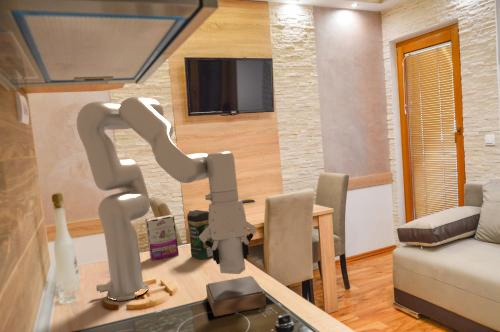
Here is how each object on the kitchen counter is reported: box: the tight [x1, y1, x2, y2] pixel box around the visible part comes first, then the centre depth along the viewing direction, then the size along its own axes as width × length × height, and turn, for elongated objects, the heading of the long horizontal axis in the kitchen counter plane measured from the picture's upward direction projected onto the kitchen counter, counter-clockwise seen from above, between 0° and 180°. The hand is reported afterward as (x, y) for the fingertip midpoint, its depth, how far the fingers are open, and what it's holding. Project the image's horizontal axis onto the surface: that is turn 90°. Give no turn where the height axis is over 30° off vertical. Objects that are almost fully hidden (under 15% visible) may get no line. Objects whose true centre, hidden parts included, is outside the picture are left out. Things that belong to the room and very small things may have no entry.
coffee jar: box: [187, 209, 213, 260], centre depth 157 cm, size 10×8×19 cm
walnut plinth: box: [205, 275, 267, 318], centre depth 110 cm, size 14×14×4 cm
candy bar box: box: [144, 214, 179, 262], centre depth 162 cm, size 11×5×16 cm, turn 114°
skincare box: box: [217, 230, 246, 275], centre depth 110 cm, size 6×4×12 cm
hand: (231, 259), depth 110 cm, fingers closed on skincare box, 7 cm apart
